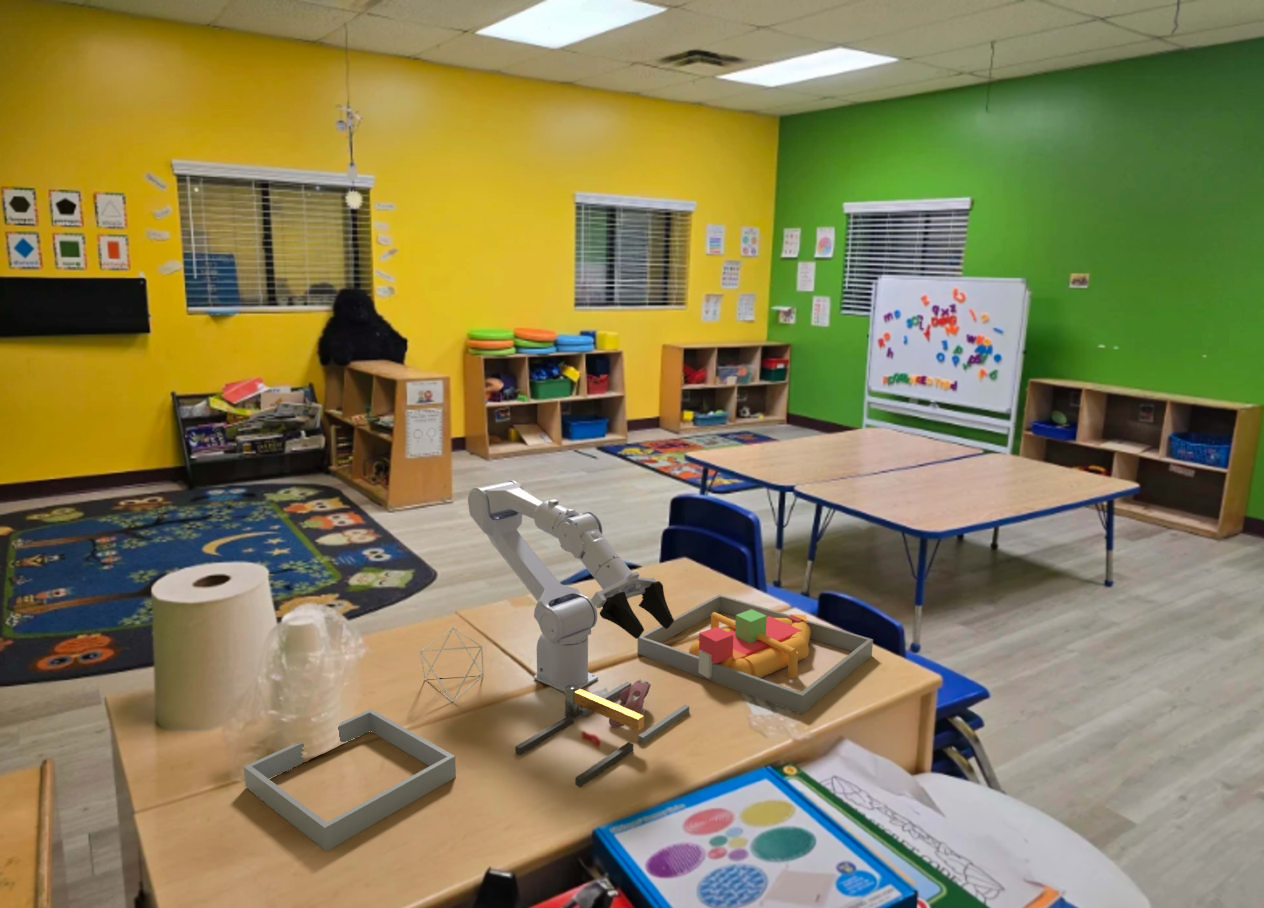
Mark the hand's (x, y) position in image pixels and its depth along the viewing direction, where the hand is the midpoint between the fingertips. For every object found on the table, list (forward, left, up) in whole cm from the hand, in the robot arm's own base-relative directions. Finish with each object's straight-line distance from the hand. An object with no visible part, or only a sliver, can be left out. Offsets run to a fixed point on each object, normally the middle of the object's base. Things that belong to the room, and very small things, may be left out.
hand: (655, 629), depth 138 cm
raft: (-1, +34, -18) cm, 39 cm away
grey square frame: (-25, -41, -18) cm, 51 cm away
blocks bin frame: (-1, +35, -18) cm, 39 cm away
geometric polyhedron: (-37, -12, -18) cm, 43 cm away
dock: (-5, -6, -18) cm, 19 cm away
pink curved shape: (-5, 0, -18) cm, 19 cm away
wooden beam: (-6, -7, -17) cm, 19 cm away
